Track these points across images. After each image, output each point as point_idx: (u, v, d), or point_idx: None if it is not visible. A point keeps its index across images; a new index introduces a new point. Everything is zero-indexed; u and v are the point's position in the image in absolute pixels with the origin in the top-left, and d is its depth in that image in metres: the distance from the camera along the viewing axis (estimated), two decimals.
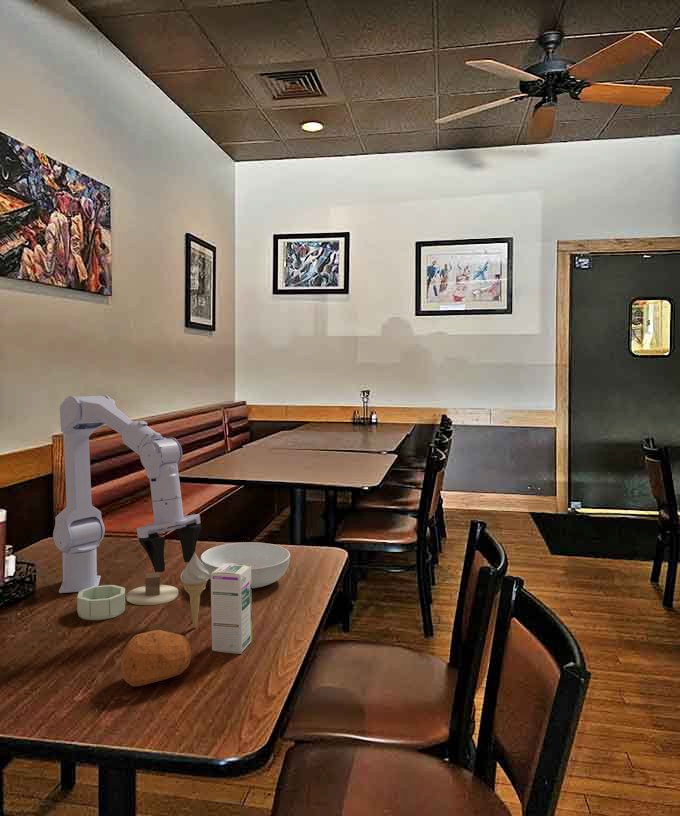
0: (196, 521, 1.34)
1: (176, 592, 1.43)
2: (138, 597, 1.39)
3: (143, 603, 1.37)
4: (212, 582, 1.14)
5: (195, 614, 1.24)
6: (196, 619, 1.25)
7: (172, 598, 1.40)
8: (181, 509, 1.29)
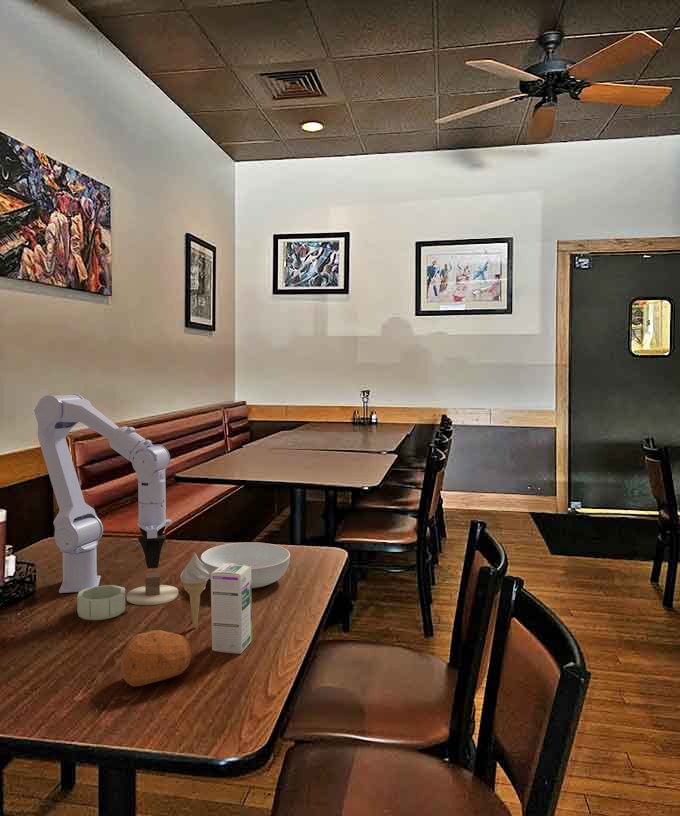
0: None
1: (176, 592, 1.43)
2: (138, 597, 1.39)
3: (143, 603, 1.37)
4: (212, 582, 1.14)
5: (195, 614, 1.24)
6: (196, 619, 1.25)
7: (172, 598, 1.40)
8: None
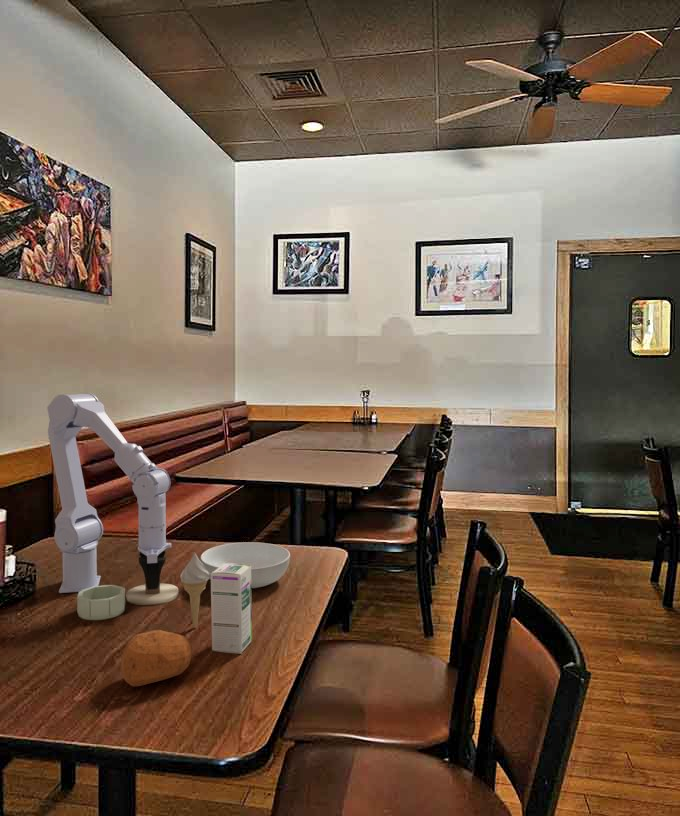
0: None
1: (176, 590, 1.42)
2: (138, 596, 1.39)
3: (143, 601, 1.36)
4: (212, 582, 1.14)
5: (195, 614, 1.24)
6: (196, 619, 1.25)
7: (172, 596, 1.40)
8: None
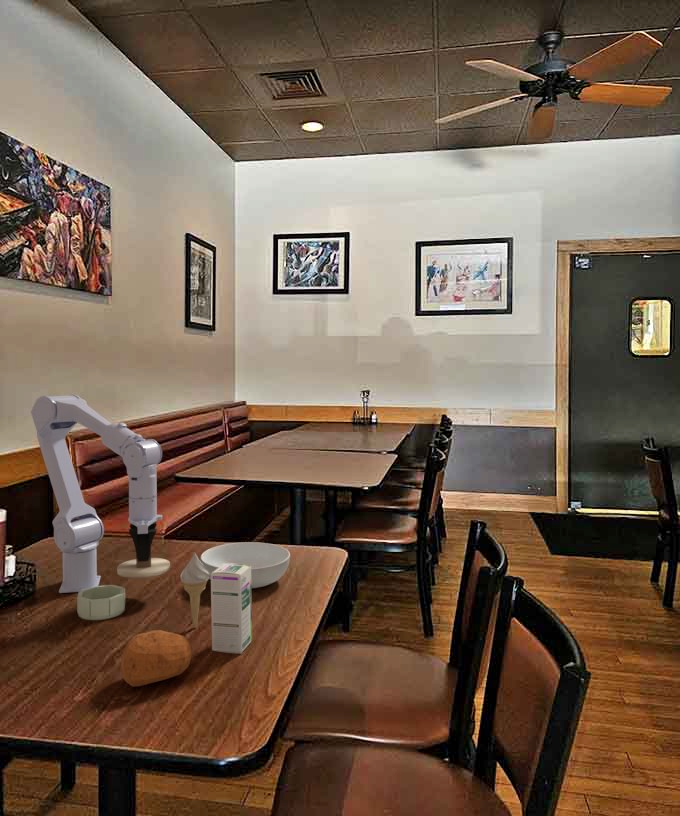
0: None
1: (168, 564, 1.40)
2: (129, 569, 1.37)
3: (134, 574, 1.34)
4: (212, 582, 1.14)
5: (195, 614, 1.24)
6: (196, 619, 1.25)
7: (163, 570, 1.38)
8: None
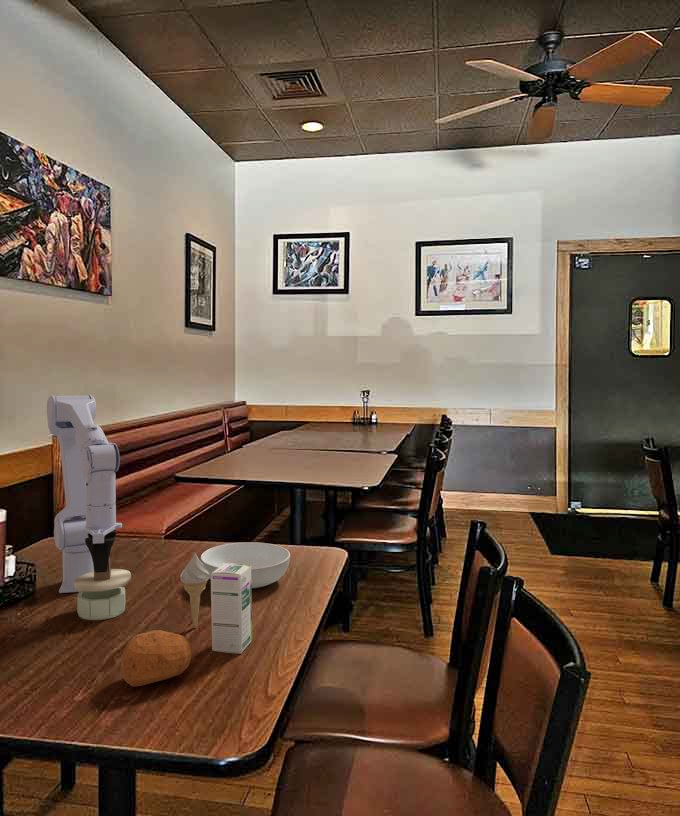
0: None
1: (128, 575, 1.33)
2: (86, 583, 1.29)
3: (90, 588, 1.27)
4: (212, 582, 1.14)
5: (195, 614, 1.24)
6: (196, 619, 1.25)
7: (122, 582, 1.30)
8: None
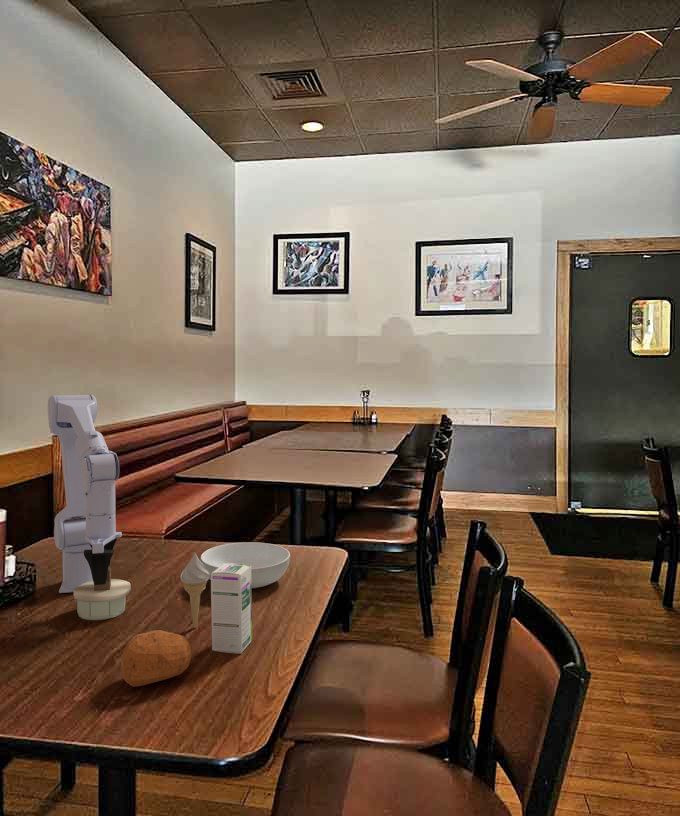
0: None
1: (128, 587, 1.33)
2: (86, 592, 1.29)
3: (90, 598, 1.27)
4: (212, 582, 1.14)
5: (195, 614, 1.24)
6: (196, 619, 1.25)
7: (122, 593, 1.30)
8: None
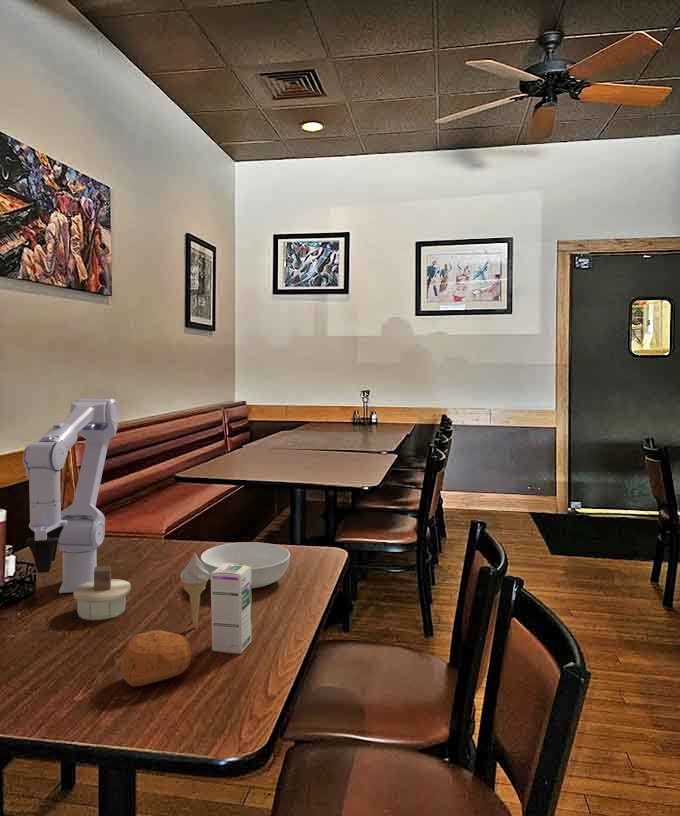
0: None
1: (128, 587, 1.33)
2: (86, 592, 1.29)
3: (90, 598, 1.27)
4: (212, 582, 1.14)
5: (195, 614, 1.24)
6: (196, 619, 1.25)
7: (122, 593, 1.30)
8: None
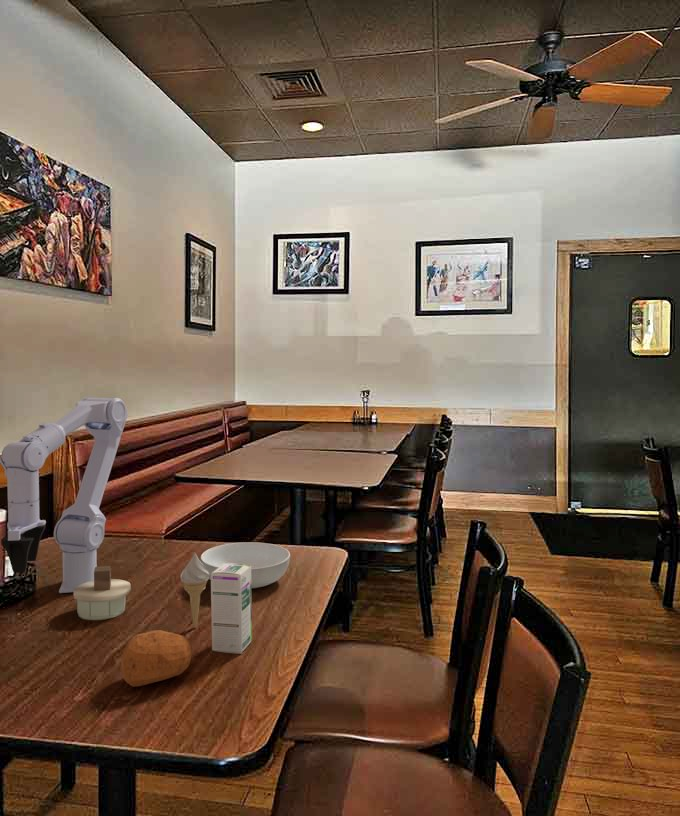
0: None
1: (128, 587, 1.33)
2: (86, 592, 1.29)
3: (90, 598, 1.27)
4: (212, 582, 1.14)
5: (195, 614, 1.24)
6: (196, 619, 1.25)
7: (122, 593, 1.30)
8: None
